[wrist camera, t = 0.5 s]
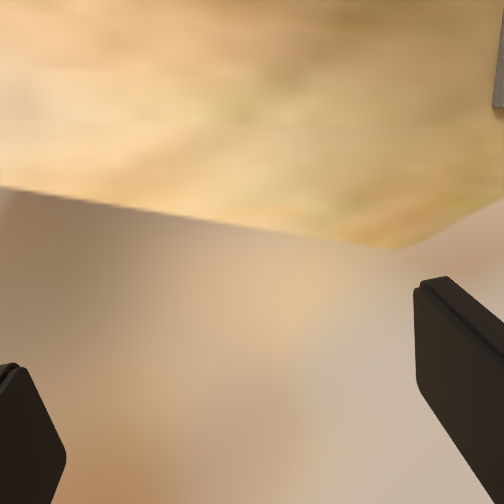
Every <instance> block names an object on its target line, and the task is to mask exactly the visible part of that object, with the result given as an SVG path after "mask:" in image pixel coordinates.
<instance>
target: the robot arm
mask: <svg viewBox="0 0 504 504" xmlns="http://www.w3.org/2000/svg"><path fill="white" fill-rule="evenodd" d="M413 303H414V331H415V357H416V358H415V359H416V380H417V384H418V388H419V390H420V392H421V394H422V396H423V397H424V399H425V400H426V401H427V403H428V404H429V406H430V408H431V409H432V411H433V412H434V414H435V415H436V416H437V418H438V419H439V421H440V423H441V424H442V426H443V427H444V429H445V430H446V431H447V433H448V434H449V436H450V437H451V439H452V441H453V442H454V444H455V445H456V447H457V448H458V450H459V451H460V453H461V454H462V456H463V457H464V458H465V460H466V461H467V463H468V465H469V466H470V467H471V469H472V470H473V472H474V473H475V475H476V476H477V478H478V479H479V481H480V482H481V484H482V485H483V487H484V488H485V490H486V491H487V493H488V494H489V496H490V497H491V499H492V500H493V502H494V503H495V504H504V323H503V322H502V321H501V320H500V319H499V318H497V317H496V316H495V315H493V314H492V313H491V312H490V311H489V310H488V309H486V308H485V307H484V306H483V305H482V304H480V303H479V302H478V301H477V300H475V299H474V298H473V297H472V296H471V295H470V294H468V293H467V292H466V291H465V290H464V289H462V288H461V287H460V286H459V285H457V284H456V283H455V282H454V281H453V280H451V279H450V278H449V277H447V276H443V277H438V278H433V279H429V280H424V281H422V282H421V283H420V287H419V288H415V289H414V292H413ZM65 464H66V451H65V448H64V446H63V444H62V442H61V440H60V438H59V435H58V433H57V431H56V429H55V427H54V425H53V423H52V421H51V419H50V416H49V414H48V412H47V410H46V408H45V406H44V404H43V402H42V399H41V397H40V396H39V393H38V391H37V389H36V387H35V385H34V382H33V380H32V378H31V376H30V374H29V372H28V370H27V369H26V368H24V367H20V366H19V365H18V364H16V363H9V364H4V365H0V504H51V501H52V499H53V496H54V494H55V491H56V488H57V486H58V483H59V481H60V478H61V475H62V473H63V471H64V468H65Z"/></svg>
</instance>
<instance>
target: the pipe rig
mask: <svg viewBox="0 0 504 504" xmlns="http://www.w3.org/2000/svg"><path fill="white" fill-rule="evenodd" d="M492 107H504V13H503V21H502V30H501V38H500V46H499V54H498V63H497V71H496V79H495V87H494V95H493V104H492Z"/></svg>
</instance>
